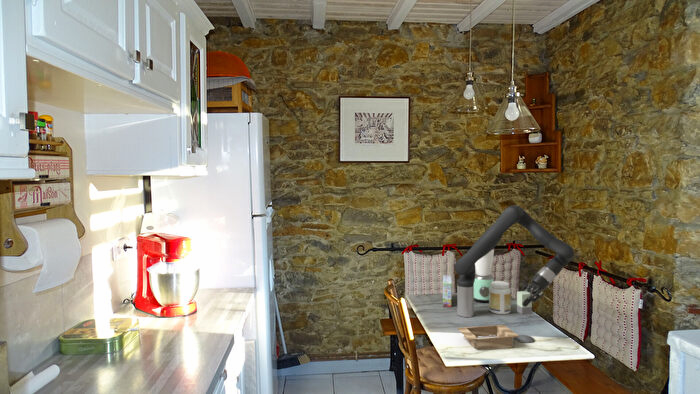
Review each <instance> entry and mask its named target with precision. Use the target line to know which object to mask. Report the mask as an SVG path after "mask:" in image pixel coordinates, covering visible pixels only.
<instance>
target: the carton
mask: <svg viewBox="0 0 700 394" xmlns="http://www.w3.org/2000/svg"><path fill="white" fill-rule="evenodd" d="M457 330H458V331H459V332H460V333H461V334H462V335H463V337H465V338H466V341H467V342H468V343H469V344H471V345H472V346H473V348H474V349H476V350H477V351H478V350H492V349H505V348H506V349H507V348H513V340H514V339H513V338H514V337H520V336H518V335H519V334H518V333H516V332H514V331H513V330H512V329H510V328H509V327H508V326H506V325H504V324H496V325H482V326H481V325H478V326H469V327H468V326H466V327H457ZM489 335H497V336H491V337H490V336H489ZM478 336H483V337H478Z"/></svg>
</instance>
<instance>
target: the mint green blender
mask: <svg viewBox="0 0 700 394" xmlns="http://www.w3.org/2000/svg"><path fill="white" fill-rule="evenodd" d="M494 251H495V247H494V248H493V249H492V250H491V251H490V252H489V253H488V254H486V255H485V256H483V257H482V258H481V259H479V260H478V261H477V262H476V263H475V281H474V301H475V303H480V302H483V303H489V288H490V287H491V286H490V285H491V282H493V281H495V280H494V276H493V275H492V274H491V273H492V267H493V261H494V255H495V254H494V253H495V252H494Z"/></svg>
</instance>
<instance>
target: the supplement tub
mask: <svg viewBox="0 0 700 394" xmlns="http://www.w3.org/2000/svg"><path fill="white" fill-rule="evenodd" d="M490 286H491V287H490V288H489V302H488V310H489V311H490V312H491V313H494V314H497V315H507V314H510V313H511V310H512V309H511V308H512V307H511V305H512V300H511V299H512V291H511V288H510V283H509V282H506V281H502V280H498V281H497V280H494V281H493V282H491V285H490Z"/></svg>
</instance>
